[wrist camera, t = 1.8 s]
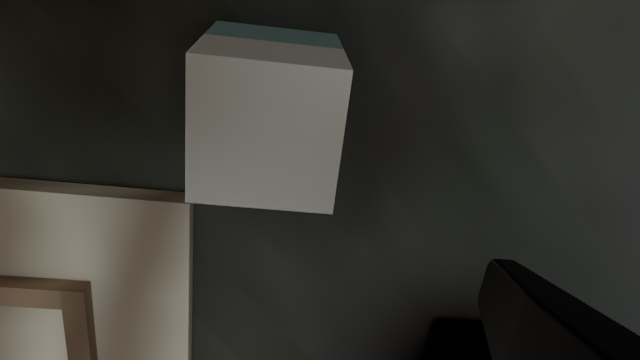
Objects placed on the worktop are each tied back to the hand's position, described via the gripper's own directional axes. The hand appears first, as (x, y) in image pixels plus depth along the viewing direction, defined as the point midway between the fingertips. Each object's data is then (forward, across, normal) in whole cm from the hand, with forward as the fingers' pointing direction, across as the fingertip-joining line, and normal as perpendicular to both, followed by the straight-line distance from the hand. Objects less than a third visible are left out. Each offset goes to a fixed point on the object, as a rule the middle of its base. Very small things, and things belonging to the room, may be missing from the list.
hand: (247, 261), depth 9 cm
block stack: (+12, 0, 0) cm, 12 cm away
